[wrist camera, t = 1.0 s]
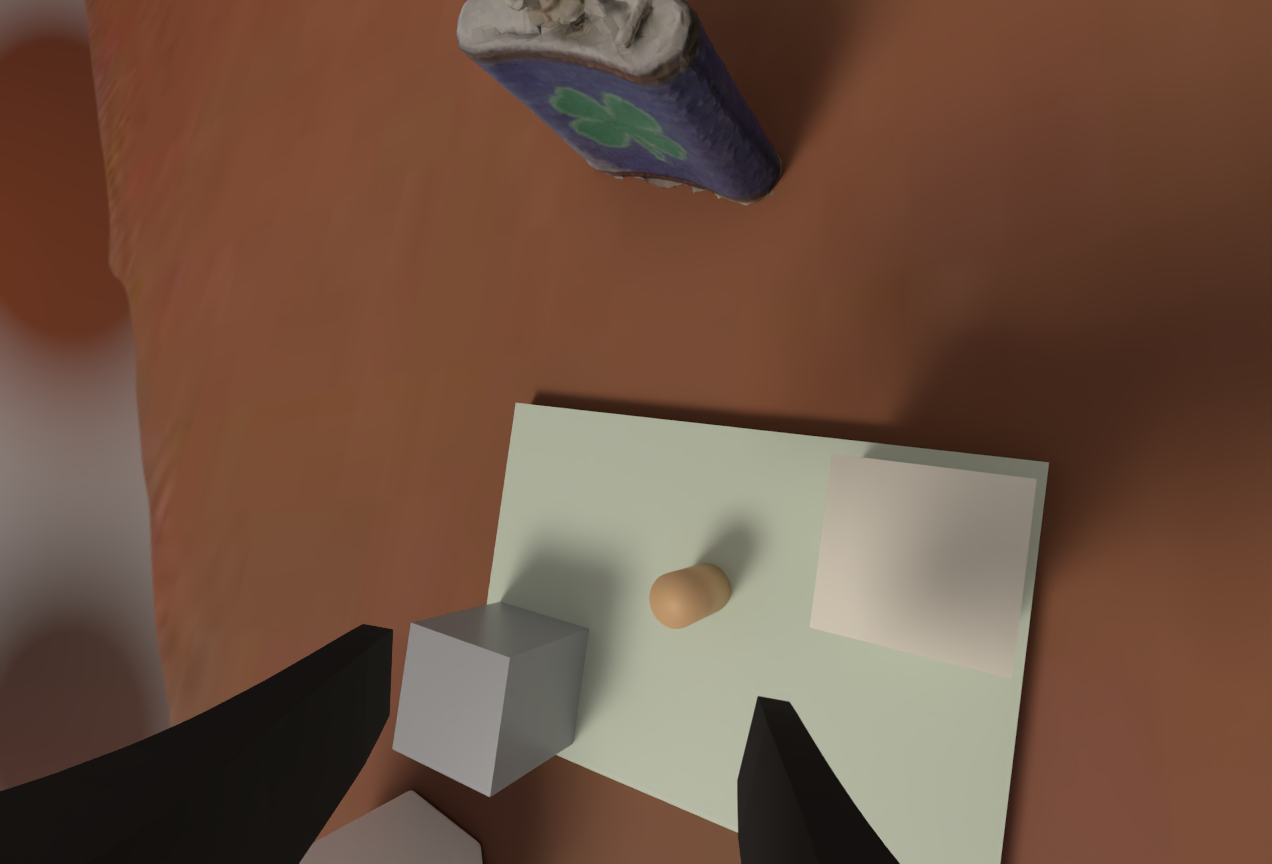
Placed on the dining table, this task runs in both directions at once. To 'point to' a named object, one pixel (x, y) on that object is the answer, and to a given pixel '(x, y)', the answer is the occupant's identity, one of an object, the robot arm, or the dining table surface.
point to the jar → (397, 837)
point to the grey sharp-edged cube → (489, 693)
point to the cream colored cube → (925, 560)
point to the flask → (627, 89)
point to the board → (744, 623)
